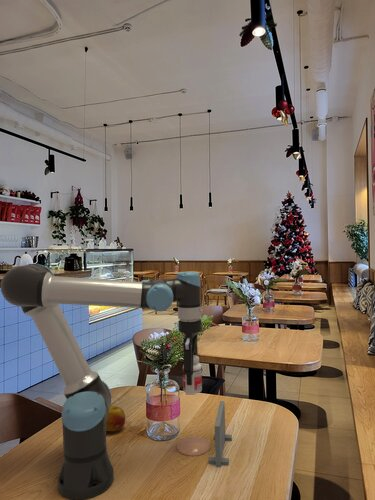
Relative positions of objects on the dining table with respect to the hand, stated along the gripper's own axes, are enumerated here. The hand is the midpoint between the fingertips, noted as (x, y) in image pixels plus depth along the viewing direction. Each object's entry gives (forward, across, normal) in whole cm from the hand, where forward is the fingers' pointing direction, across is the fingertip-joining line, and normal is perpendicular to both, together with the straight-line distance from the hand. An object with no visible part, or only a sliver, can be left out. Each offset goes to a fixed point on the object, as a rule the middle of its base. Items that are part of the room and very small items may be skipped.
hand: (191, 390), depth 123 cm
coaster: (+19, 0, 0) cm, 19 cm away
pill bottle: (+1, 0, 0) cm, 1 cm away
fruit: (+19, +8, +31) cm, 37 cm away
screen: (+19, -1, -9) cm, 21 cm away
